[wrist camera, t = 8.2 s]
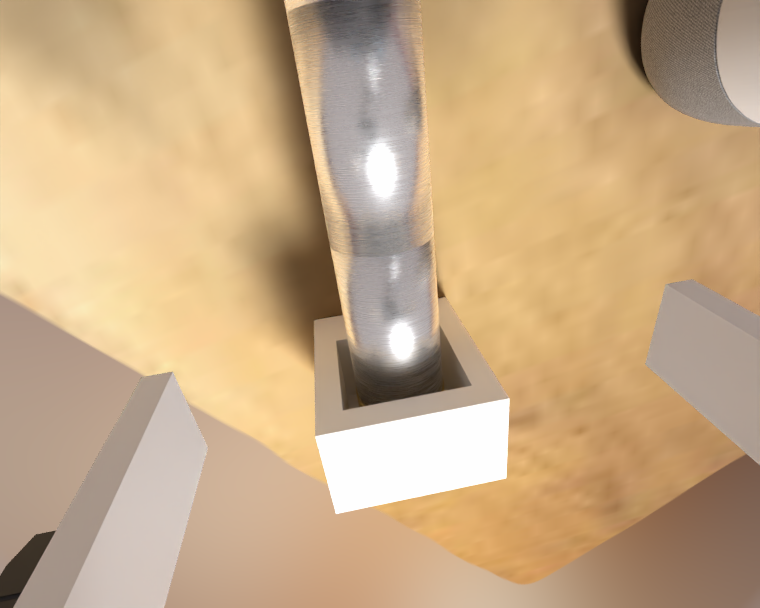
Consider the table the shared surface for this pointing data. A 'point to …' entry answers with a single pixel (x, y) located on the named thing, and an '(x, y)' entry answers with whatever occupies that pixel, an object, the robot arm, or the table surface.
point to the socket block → (408, 423)
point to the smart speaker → (705, 58)
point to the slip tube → (374, 184)
